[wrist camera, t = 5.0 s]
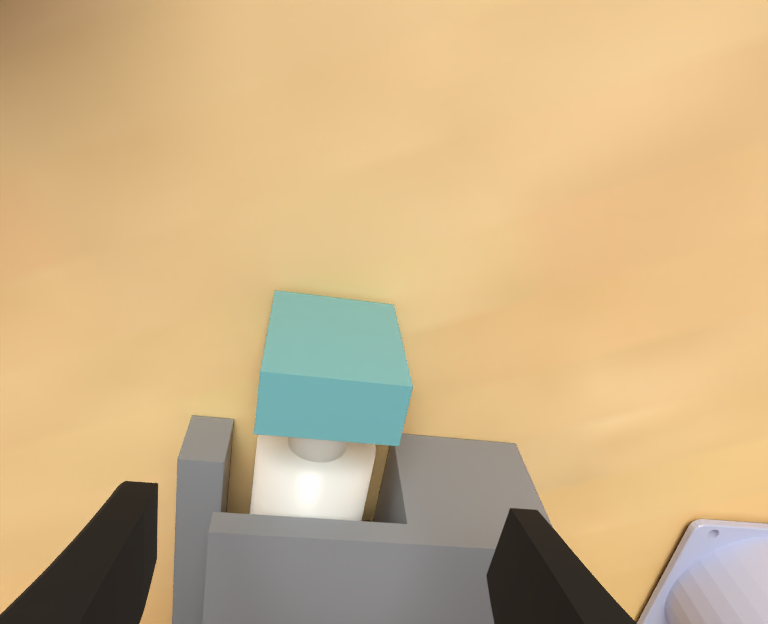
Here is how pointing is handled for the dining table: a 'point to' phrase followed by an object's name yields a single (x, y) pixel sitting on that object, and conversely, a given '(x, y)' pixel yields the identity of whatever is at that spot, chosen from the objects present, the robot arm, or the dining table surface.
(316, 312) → the cartridge
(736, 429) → the dining table surface
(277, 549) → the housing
